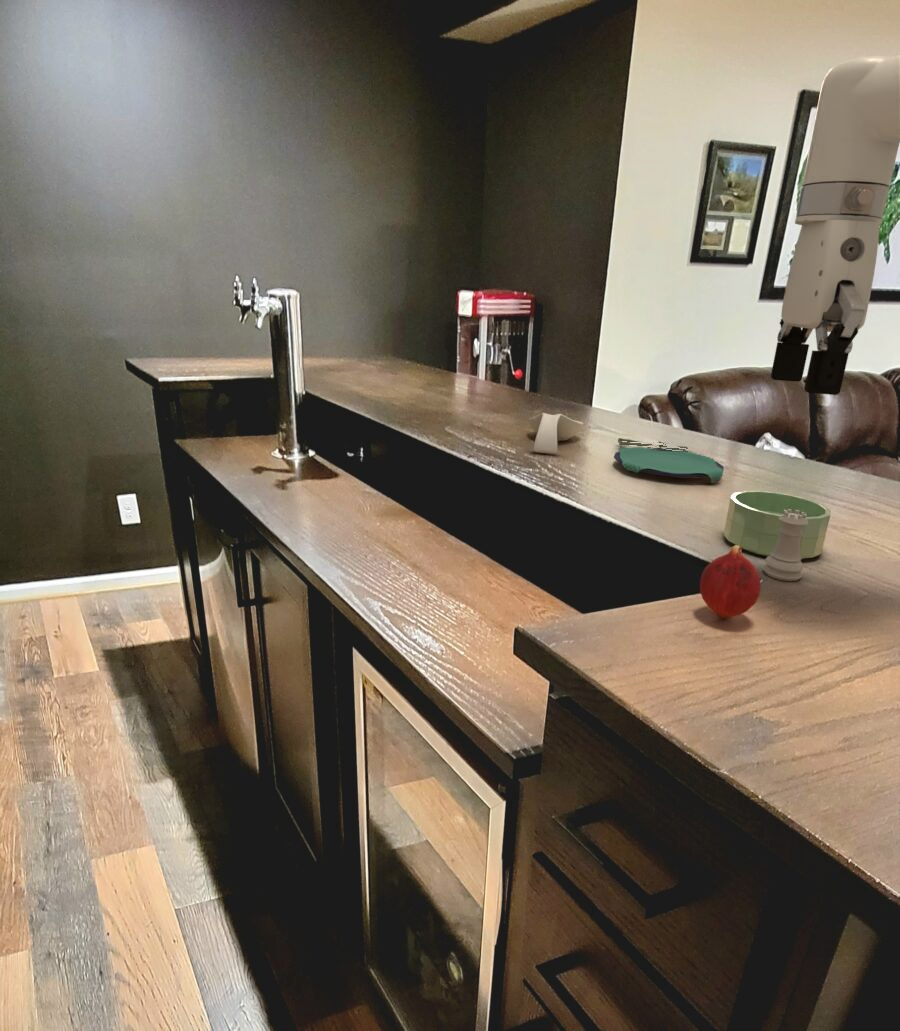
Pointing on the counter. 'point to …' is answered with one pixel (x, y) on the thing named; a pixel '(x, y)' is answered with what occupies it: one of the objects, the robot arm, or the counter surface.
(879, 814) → the counter surface
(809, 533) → the green round tub
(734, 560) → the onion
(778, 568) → the rook chess piece
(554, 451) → the spoon rest
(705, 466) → the cutlery set
